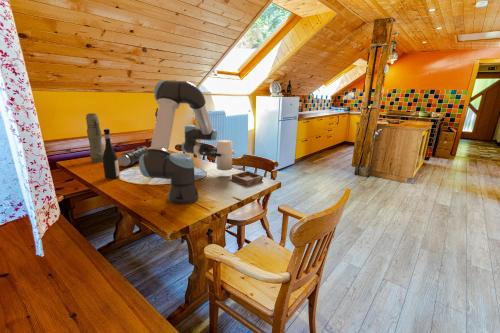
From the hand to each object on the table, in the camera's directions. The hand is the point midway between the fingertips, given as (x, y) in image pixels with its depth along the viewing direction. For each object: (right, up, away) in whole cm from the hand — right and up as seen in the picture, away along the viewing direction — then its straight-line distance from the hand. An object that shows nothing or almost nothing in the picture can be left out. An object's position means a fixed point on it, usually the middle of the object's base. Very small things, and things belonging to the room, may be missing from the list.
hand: (230, 154), depth 163 cm
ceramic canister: (-4, -9, +5) cm, 11 cm away
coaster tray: (+11, -17, -2) cm, 20 cm away
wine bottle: (-73, -15, -6) cm, 74 cm away
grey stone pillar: (-101, -4, +27) cm, 105 cm away
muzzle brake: (-73, -5, +27) cm, 78 cm away
